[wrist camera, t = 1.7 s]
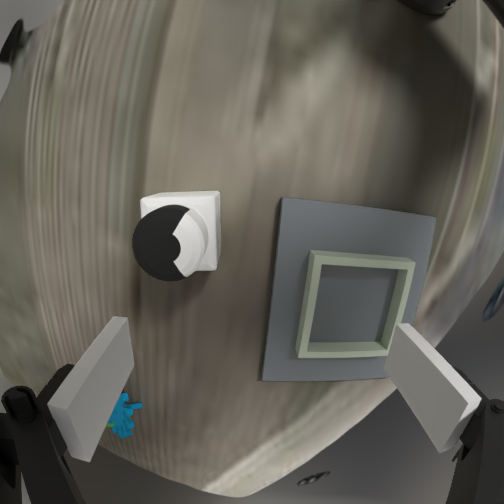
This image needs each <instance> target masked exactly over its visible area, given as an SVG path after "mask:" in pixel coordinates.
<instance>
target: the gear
mask: <svg viewBox="0 0 504 504" xmlns="http://www.w3.org/2000/svg"><path fill="white" fill-rule="evenodd" d="M125 401H129V397H128V394H127V393H122V394H121V395H120V396H119V398H118V401H117V403H116V405H115V407H114V409H113V411H112V414H111V416H110V418H109V420H108V422H107V424H106V426H107V427H112V431H113V432H114V434H116V433H118V435H119V437H120V438H126V436H131V435H132V432H131V430H130V429H132V428H134V426H135V424H134V422H133V421H132V420H131V419H130V416H132V415H133V410H134V409H139V408H142V407H143V405H142V403H141V402H140V403H134V404H128V405H126V404H125V403H124V402H125Z"/></svg>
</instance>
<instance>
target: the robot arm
mask: <svg viewBox="0 0 504 504" xmlns="http://www.w3.org/2000/svg"><path fill="white" fill-rule="evenodd" d="M399 1H401V2H402V3H404V4H405V5H407V6H409V7H410V8H412V9H414V10H417V11H419V12H422V13H425V14H430V15H439V14H442V13H444V12H446V11H447V10H449V9H450V8H452V7H453V5H454V4H455V2H456V0H399ZM483 2H484V3H485V4H486V5H487V7H488V8H489V9H490V11H491V12H492V13H493V15H494V16H495V17H496V19H497V20H498V21H499V23H500V24H501V26H502V27H503V28H504V0H483ZM133 367H134V359H133V352H132V345H131V338H130V331H129V322H128V318H127V317H117V316H113V317H112V318H111V320H110V321H109V322H108V323H107V325H106V326H105V327H104V329H103V330H102V331H101V332H100V334H99V335H98V336H97V337H96V339H95V340H94V341H93V343H92V344H91V345H90V346H89V348H88V349H87V350H86V352H85V353H84V354H83V356H82V357H81V358H80V360H79V361H78V362H77V364H76V365H71V364H66V365H65V366H63V367H62V368H60V369H58V371H57V372H56V373H55V374H54V376H53V377H52V379H50V381H49V382H48V385H46V386H45V387H44V389H43V390H42V391H41V392H40V394H39V395H38V396H37V398H36V396H35V394H34V392H33V390H32V389H30V388H29V387H26V386H15V387H12V388H10V389H8V390H7V391H6V392H5V393H4V394H3V396H2V400H1V402H2V404H3V406H4V408H5V410H6V412H7V413H0V504H22V492H21V472H22V475H23V478H24V482H25V486H26V489H27V492H28V495H29V498H30V501H31V504H86V502H85V500H84V498H83V496H82V494H81V492H80V490H79V488H78V486H77V484H76V482H75V480H74V477H73V475H72V473H71V471H70V468H69V466H68V464H67V461H66V459H65V457H64V455H63V454H64V452H65V450H66V449H68V450H69V452H70V454H71V456H72V457H74V458H77V459H80V460H84V461H87V462H90V461H91V458H92V456H93V454H94V452H95V449H96V447H97V445H98V442H99V440H100V438H101V436H102V433H103V431H104V429H105V427H106V424H107V422H108V420H109V418H110V416H111V414H112V411H113V409H114V407H115V405H116V403H117V401H118V398H119V396H120V394H121V392H122V390H123V388H124V386H125V384H126V382H127V380H128V378H129V375H130V373H131V371H132V369H133ZM384 369H385V371H386V372H387V374H388V375H389V377H390V378H391V380H392V381H393V382H394V384H395V385H396V387H397V388H398V390H399V391H400V393H401V394H402V396H403V397H404V399H405V400H406V402H407V403H408V405H409V406H410V408H411V409H412V411H413V413H414V414H415V415H416V417H417V419H418V420H419V422H420V423H421V425H422V426H423V428H424V430H425V431H426V433H427V434H428V436H429V437H430V439H431V441H432V442H433V444H434V445H435V447H436V449H437V450H438V452H439V453H441V452H444V451H447V450H450V449H453V448H454V446H455V445H456V443H457V442H458V440H459V438H460V440H461V441H462V442H463V444H462V446H461V447H460V449H459V450H458V452H457V453H456V455H455V456H454V458H453V459H452V461H455V459H456V458H457V457H458V459H457V463H456V468H455V472H454V476H453V480H452V484H451V488H450V491H449V495H448V498H447V501H446V504H504V401H501V400H499V399H492V400H489V399H488V398H487V397H486V396H485V395H484V394H483V393H482V392H481V391H480V390H479V389H478V388H477V387H476V385H475V384H473V383H472V381H471V380H470V379H468V377H467V376H466V375H465V374H464V373H463V372H462V371H460V370H459V369H457V368H455V367H454V366H451V365H449V364H448V362H447V361H446V360H445V359H444V358H443V357H442V356H441V355H440V354H439V353H438V352H437V351H436V350H435V349H434V348H433V347H432V346H431V345H430V344H429V343H428V342H427V341H426V340H425V339H424V338H423V337H422V336H421V335H420V334H419V333H418V332H417V331H416V330H415V329H414V328H413V327H412V326H411V325H410V324H409V323H402V324H396V327H395V331H394V335H393V338H392V342H391V346H390V349H389V353H388V356H387V360H386V363H385V366H384Z"/></svg>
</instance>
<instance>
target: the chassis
mask: <svg viewBox="0 0 504 504" xmlns="http://www.w3.org/2000/svg"><path fill="white" fill-rule="evenodd" d="M435 224H436V217H432V216H428V215H421V214H415V213H409V212H402V211H395V210H388V209H381V208H374V207H367V206H359V205H351V204H343V203H334V202H326V201H317V200H307V199H298V198H287V197H281V207H280V217H279V227H278V237H277V247H276V256H275V266H274V275H273V284H272V293H271V302H270V310H269V319H268V327H267V336H266V344H265V352H264V360H263V368H262V381H336V380H357V379H371V378H384V377H389V375H388V374H387V372H386V371H385V369H384V366H385V363H386V360H387V356H388V353H389V349H390V346H391V342H392V338H393V335H394V331H395V327H396V324H402V323H409V324H410V325H411V326H412V325H413V322H414V318H415V315H416V311H417V307H418V304H419V300H420V296H421V292H422V288H423V284H424V280H425V275H426V271H427V266H428V262H429V257H430V252H431V247H432V241H433V236H434V230H435Z"/></svg>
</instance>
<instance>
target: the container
mask: <svg viewBox="0 0 504 504" xmlns="http://www.w3.org/2000/svg"><path fill="white" fill-rule="evenodd" d="M140 204H141V220H140V221H139V223H138V224H137V226H136V228H135V231H134V234H133V243H132V245H133V251H134V255H135V257H136V260H137V262H138V263H139V265H140V266H141V267H142V269H143V270H144V271H145V272H147V273H148V274H149V275H151V276H152V277H154V278H157V279H160V280H163V281H177V280H181V279H184V278H186V277H188V276H189V275H191V274H192V273H193V272H194V271H214V270H216V269H217V265H218V261H219V257H220V253H221V220H220V192H219V191H192V192H165V193H158V194H155V195H151V196H148V197H144V198H142V199H141V201H140Z"/></svg>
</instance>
